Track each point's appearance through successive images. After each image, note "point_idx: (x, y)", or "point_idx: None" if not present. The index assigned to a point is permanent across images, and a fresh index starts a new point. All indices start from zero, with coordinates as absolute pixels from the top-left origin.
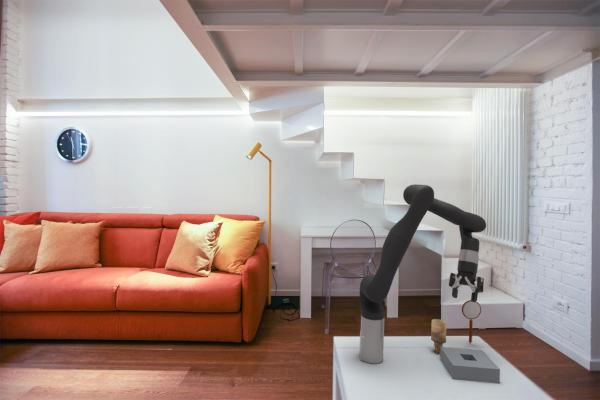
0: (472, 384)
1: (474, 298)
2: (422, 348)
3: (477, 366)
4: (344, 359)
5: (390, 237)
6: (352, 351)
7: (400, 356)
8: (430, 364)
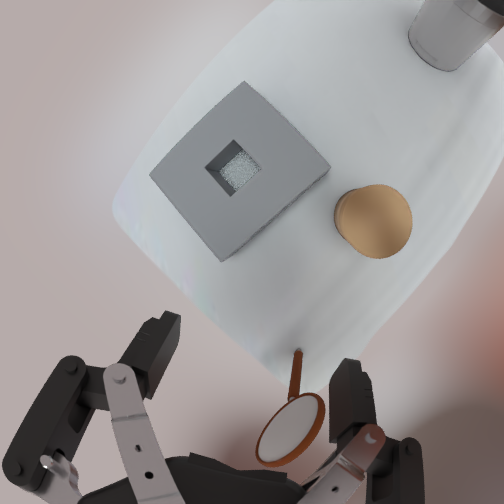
0: None
1: (144, 329)
2: None
3: (193, 134)
4: None
5: None
6: None
7: (407, 98)
8: (330, 116)
